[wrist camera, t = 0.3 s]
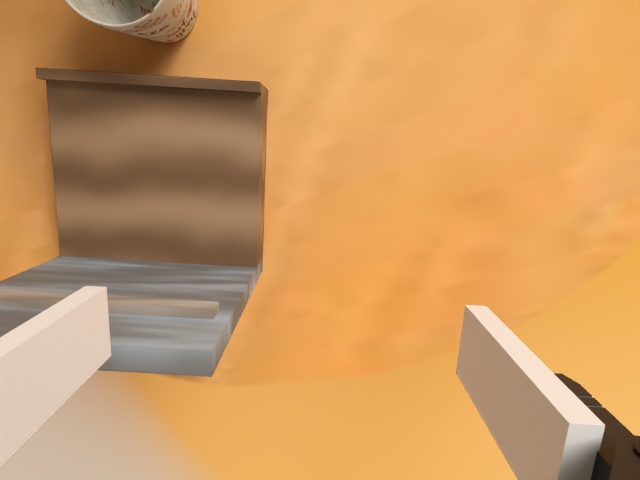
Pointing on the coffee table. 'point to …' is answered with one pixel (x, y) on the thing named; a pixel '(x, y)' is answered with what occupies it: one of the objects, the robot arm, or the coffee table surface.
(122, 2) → the mug
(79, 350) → the robot arm
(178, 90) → the cleat board
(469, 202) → the coffee table surface
